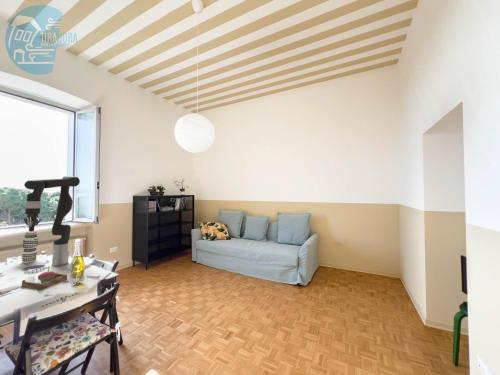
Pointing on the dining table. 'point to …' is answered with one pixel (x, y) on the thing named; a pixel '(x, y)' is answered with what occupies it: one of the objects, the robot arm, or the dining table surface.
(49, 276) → the cupcake
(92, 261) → the dining table surface
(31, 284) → the walnut corral
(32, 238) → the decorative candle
